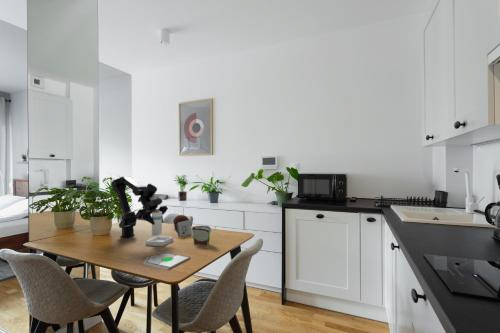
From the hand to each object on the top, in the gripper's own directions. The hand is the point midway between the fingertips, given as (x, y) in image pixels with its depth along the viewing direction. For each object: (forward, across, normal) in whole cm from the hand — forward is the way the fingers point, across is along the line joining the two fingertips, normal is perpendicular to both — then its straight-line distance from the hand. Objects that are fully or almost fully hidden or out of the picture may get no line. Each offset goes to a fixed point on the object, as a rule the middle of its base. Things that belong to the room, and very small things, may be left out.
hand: (158, 223), depth 146 cm
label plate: (+11, +25, +6) cm, 28 cm away
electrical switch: (+6, +22, +12) cm, 26 cm away
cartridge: (+4, 0, +6) cm, 7 cm away
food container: (+23, +16, -6) cm, 29 cm away
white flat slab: (+25, -14, -7) cm, 30 cm away
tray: (+7, +3, +10) cm, 13 cm away
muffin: (-4, +32, +22) cm, 39 cm away
